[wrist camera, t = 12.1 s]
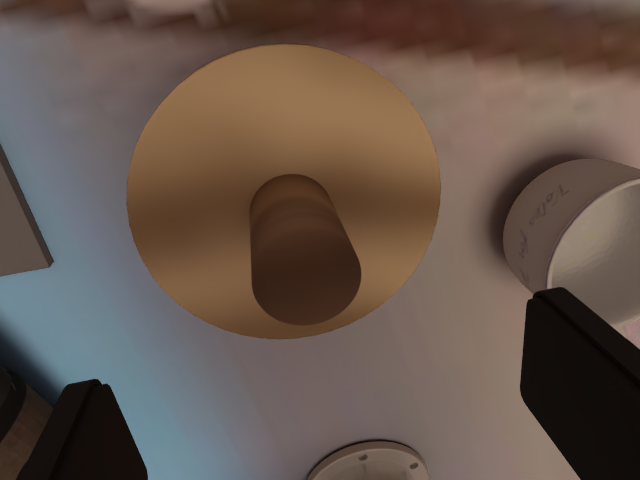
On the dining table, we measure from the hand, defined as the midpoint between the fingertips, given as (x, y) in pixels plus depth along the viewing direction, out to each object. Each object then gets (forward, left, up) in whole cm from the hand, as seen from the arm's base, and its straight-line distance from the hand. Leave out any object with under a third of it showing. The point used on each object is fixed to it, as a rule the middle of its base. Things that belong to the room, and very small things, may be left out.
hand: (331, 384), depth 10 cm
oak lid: (+1, 0, -10) cm, 10 cm away
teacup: (-11, -20, -22) cm, 32 cm away
